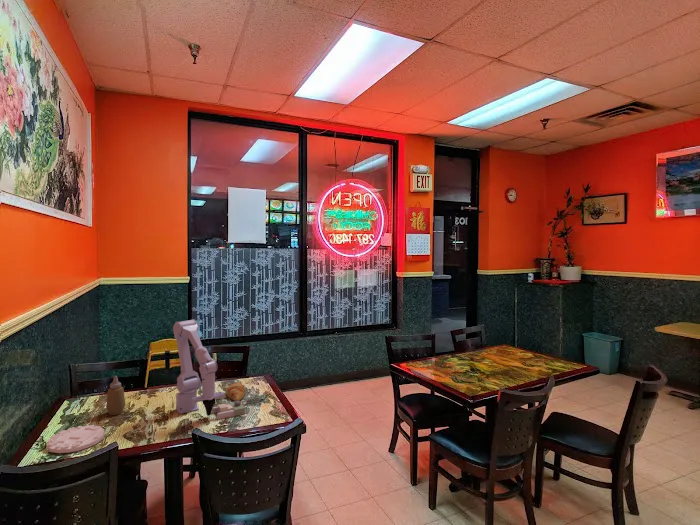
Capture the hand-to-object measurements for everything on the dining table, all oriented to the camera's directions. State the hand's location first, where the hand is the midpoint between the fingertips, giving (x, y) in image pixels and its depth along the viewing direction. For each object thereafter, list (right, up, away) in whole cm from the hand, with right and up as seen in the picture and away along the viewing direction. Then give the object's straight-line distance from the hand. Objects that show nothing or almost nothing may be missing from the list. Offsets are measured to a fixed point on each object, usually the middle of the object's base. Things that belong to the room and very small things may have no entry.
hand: (208, 414), depth 191 cm
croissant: (+5, -1, +28) cm, 28 cm away
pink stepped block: (+7, -1, +5) cm, 8 cm away
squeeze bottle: (-46, -1, +4) cm, 46 cm away
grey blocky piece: (+8, -1, +5) cm, 10 cm away
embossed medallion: (-46, -2, -24) cm, 52 cm away
